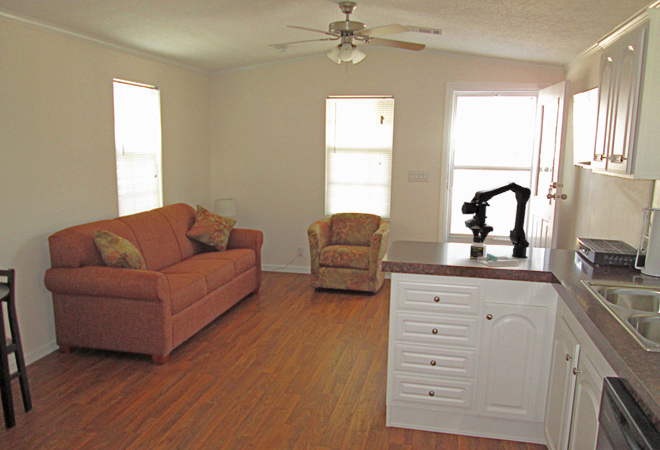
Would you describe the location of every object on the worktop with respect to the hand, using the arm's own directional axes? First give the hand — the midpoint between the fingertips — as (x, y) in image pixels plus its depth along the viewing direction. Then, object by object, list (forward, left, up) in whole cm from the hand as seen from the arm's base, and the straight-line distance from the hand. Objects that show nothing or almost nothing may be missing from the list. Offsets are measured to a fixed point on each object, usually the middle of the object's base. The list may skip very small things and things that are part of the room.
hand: (478, 241), depth 282 cm
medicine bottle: (0, 0, -9) cm, 9 cm away
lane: (-3, +14, -9) cm, 17 cm away
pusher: (+4, +14, -8) cm, 16 cm away
